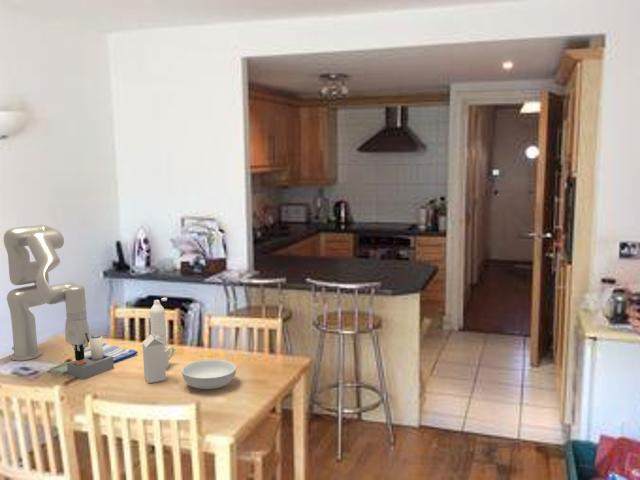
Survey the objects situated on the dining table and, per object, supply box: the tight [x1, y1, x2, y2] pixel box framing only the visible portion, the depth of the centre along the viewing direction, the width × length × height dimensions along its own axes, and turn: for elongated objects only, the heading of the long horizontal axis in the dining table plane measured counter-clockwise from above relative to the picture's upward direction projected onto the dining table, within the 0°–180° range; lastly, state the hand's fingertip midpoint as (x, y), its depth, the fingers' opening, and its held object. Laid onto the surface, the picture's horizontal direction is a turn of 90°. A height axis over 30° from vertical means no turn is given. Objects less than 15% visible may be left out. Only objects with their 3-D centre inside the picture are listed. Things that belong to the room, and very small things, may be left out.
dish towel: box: [84, 342, 138, 365], centre depth 270 cm, size 17×24×3 cm
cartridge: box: [89, 333, 104, 361], centre depth 252 cm, size 5×5×13 cm
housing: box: [66, 354, 115, 380], centre depth 250 cm, size 10×15×5 cm, turn 148°
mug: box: [164, 345, 175, 371], centre depth 254 cm, size 13×10×8 cm
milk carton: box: [142, 331, 167, 384], centre depth 240 cm, size 7×7×19 cm
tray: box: [49, 361, 71, 377], centre depth 252 cm, size 9×9×2 cm
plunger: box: [75, 359, 84, 366], centre depth 246 cm, size 3×3×4 cm
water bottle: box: [149, 297, 168, 347], centre depth 271 cm, size 9×6×25 cm
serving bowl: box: [181, 359, 237, 390], centre depth 234 cm, size 21×21×7 cm
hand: (80, 359), depth 245 cm, fingers closed
